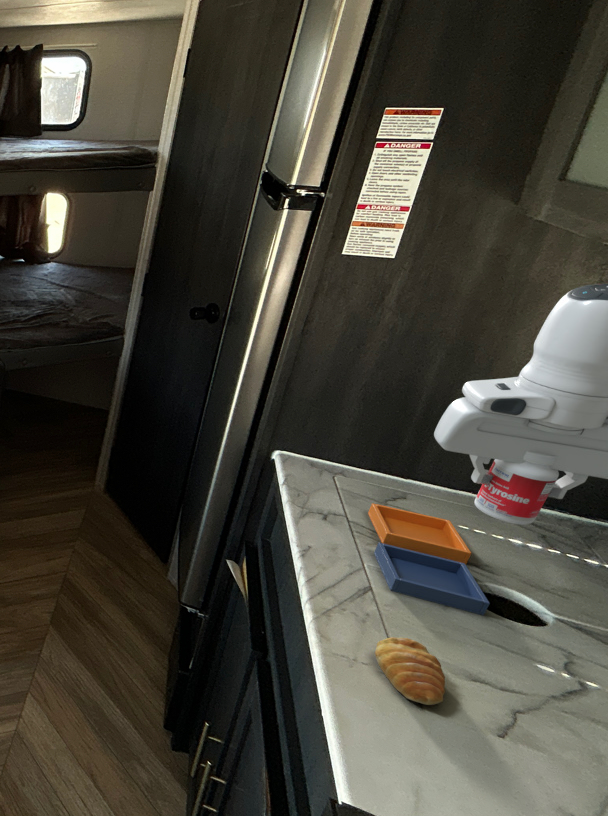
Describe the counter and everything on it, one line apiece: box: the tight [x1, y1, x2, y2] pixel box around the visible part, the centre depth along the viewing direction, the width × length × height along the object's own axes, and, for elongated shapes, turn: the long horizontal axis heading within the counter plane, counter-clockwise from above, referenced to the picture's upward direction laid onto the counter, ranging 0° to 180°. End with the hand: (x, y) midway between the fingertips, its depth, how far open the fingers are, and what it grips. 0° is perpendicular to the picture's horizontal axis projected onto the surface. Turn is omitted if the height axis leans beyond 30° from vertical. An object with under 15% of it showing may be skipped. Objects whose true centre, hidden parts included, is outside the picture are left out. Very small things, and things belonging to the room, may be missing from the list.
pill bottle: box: [474, 451, 560, 526], centre depth 89 cm, size 6×6×11 cm
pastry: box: [374, 636, 446, 706], centre depth 85 cm, size 9×7×4 cm
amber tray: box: [367, 502, 472, 565], centre depth 113 cm, size 11×10×2 cm
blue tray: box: [373, 542, 491, 616], centre depth 103 cm, size 11×10×2 cm
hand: (514, 488), depth 90 cm, fingers closed on pill bottle, 6 cm apart
